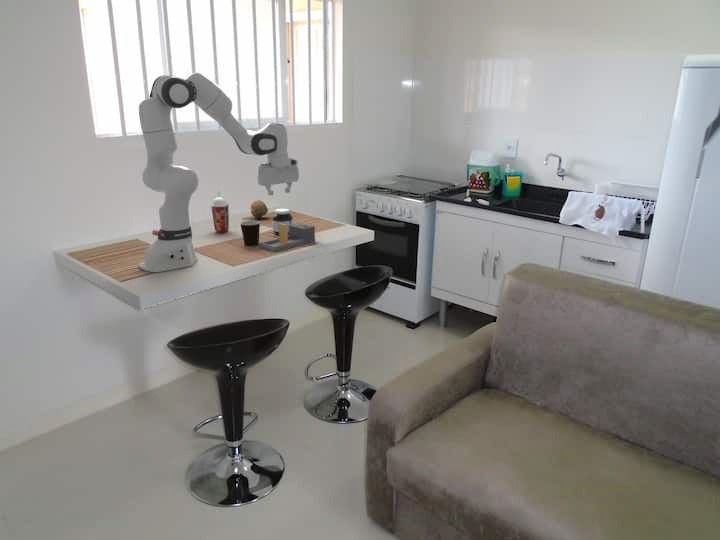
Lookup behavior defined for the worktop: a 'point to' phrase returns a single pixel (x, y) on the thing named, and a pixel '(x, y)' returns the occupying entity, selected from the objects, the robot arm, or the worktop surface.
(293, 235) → the dispenser
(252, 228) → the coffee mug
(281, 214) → the spread jar
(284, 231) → the ticket
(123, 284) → the worktop surface
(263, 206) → the natural sponge
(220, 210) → the smoothie
